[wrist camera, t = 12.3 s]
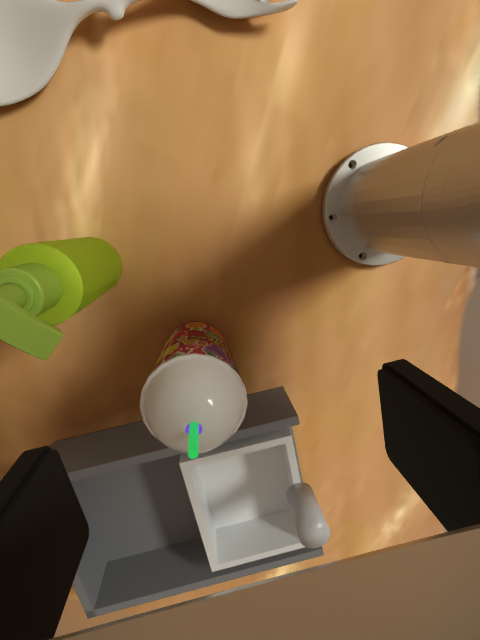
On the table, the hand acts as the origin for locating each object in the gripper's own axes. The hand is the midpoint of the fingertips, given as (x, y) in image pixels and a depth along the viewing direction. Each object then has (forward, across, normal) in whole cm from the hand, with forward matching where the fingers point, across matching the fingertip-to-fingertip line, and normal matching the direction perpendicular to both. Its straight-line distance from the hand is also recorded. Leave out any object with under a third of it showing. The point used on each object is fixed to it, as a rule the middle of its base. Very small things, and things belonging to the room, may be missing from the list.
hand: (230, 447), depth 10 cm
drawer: (+29, 0, +24) cm, 38 cm away
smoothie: (+31, +3, +7) cm, 31 cm away
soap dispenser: (+31, +11, -4) cm, 33 cm away
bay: (+30, +8, +24) cm, 39 cm away
